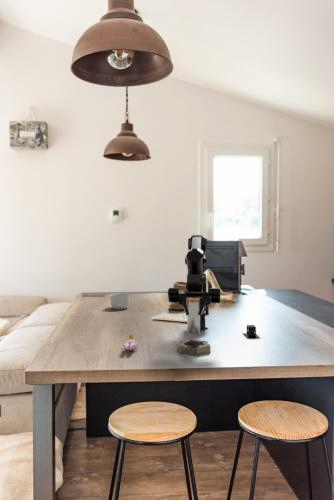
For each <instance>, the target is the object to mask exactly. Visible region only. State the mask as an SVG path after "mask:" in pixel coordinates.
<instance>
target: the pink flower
mask: <svg viewBox="0 0 334 500" xmlns="http://www.w3.org/2000/svg"><path fill="white" fill-rule="evenodd" d="M138 345H141V342H137V340H136V339H134V337H133V333H130V334H129V335H128V340H126V341H125V342H123V343H122V346H123V348H124V349H126V350H128V351H129V352H131V351H133V350H135V349H137V348H138V347H139V346H138Z"/></svg>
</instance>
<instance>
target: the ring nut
mask: <svg viewBox="0 0 334 500" xmlns="http://www.w3.org/2000/svg"><path fill="white" fill-rule="evenodd" d="M177 351H178V352H179V354H180V355H188V356H189V355H190V356H201V355H207V354H210V353H211V344H210V342H208V341H207V340H200V339H187V340H182V341H177Z"/></svg>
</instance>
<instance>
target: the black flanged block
mask: <svg viewBox="0 0 334 500" xmlns="http://www.w3.org/2000/svg"><path fill="white" fill-rule="evenodd" d="M242 335H243V336H244V337H245V338H246V339H247V340H249V339H250V340H251V339H254V340H256V339H258V340H259V339H262V338H261V337H260V336H259V335H258V334H257V327H256V325H254V324H247V325H246V332H245V333H243V332H242Z"/></svg>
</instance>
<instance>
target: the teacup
mask: <svg viewBox="0 0 334 500" xmlns="http://www.w3.org/2000/svg"><path fill="white" fill-rule="evenodd" d="M109 299H110V306H111V308H113V309H114V310H117V311H118V310H119V311H121V310H125V309H127V308H128V307H129V306H130V300H131V299H130V293H127V292H119V293H112V294H110V295H109Z"/></svg>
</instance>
